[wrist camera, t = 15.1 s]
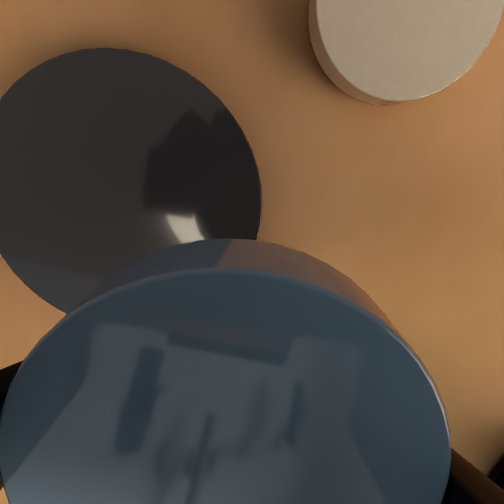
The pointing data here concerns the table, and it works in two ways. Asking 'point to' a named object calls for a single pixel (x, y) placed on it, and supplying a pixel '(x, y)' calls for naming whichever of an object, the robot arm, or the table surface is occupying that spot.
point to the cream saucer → (399, 44)
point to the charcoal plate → (115, 169)
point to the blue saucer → (224, 390)
